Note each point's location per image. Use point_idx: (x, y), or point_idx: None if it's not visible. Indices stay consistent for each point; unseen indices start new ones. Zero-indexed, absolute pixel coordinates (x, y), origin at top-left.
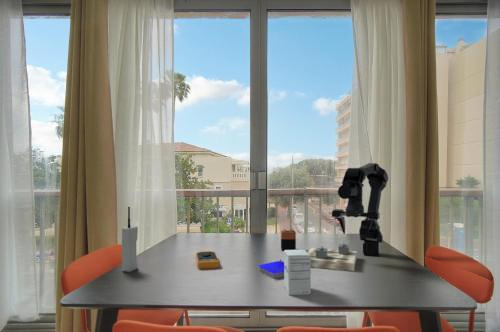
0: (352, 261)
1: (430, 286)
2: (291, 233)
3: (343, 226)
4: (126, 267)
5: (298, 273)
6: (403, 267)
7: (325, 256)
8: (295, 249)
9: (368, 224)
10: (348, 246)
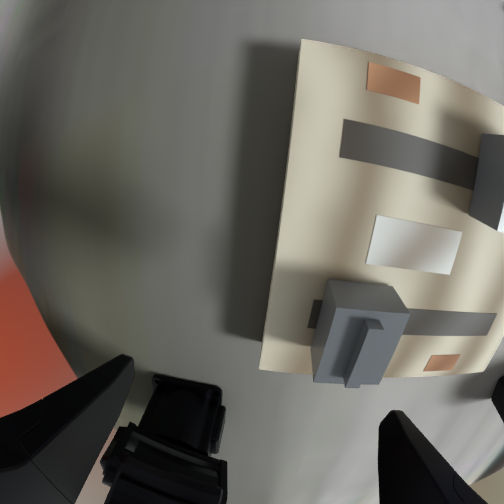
0: (310, 86)
1: (24, 4)
2: None
3: (431, 474)
4: None
5: None
6: (49, 213)
7: (491, 134)
8: (502, 381)
9: (13, 441)
10: (328, 336)
